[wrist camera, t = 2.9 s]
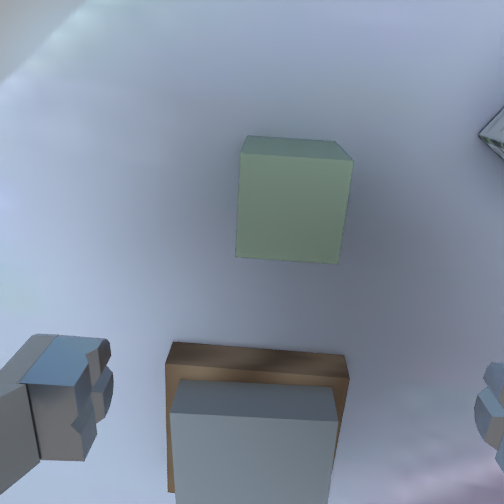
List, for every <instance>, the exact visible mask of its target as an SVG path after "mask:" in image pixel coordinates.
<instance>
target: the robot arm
mask: <svg viewBox="0 0 504 504" xmlns="http://www.w3.org/2000/svg"><path fill="white" fill-rule="evenodd" d="M110 357H111V350H110V343H109V341H108V340H107V339H104V338H91V337H79V336H67V335H53V334H35V335H32V336H31V337H30V338H29V339H28V340H27V341H26V343H25V344H24V345H23V346H22V347H21V348H20V349H19V350H18V351H17V352H16V354H15V355H14V356H13V357H12V358H11V359H10V360H9V361H8V362H7V363H6V365H5V366H4V367H3V368H2V369H1V370H0V495H1V494H2V493H3V492H5V491H6V490H7V489H8V488H9V487H11V486H12V485H13V484H14V483H16V482H17V481H18V480H19V479H20V478H22V477H23V476H24V475H25V474H26V473H28V472H29V471H30V470H31V469H33V468H34V467H35V466H36V465H37V464H39V463H40V460H60V461H85V458H86V456H87V454H88V452H89V450H90V448H91V446H92V444H93V442H94V440H95V437H96V435H97V430H96V423H98V422H99V421H101V420H102V419H103V418H105V416H106V414H107V412H108V409H109V407H110V403H111V399H112V395H113V383H114V382H113V372H112V371H111V370H110V369H109V368H108V367H107V366H106V364H107V363H108V361H109V359H110ZM483 379H484V380H485V382H486V384H487V386H488V387H487V388H486V389H484V390H483V391H482V392H481V393H479V394H478V396H477V400H476V403H475V407H474V410H475V422H476V425H477V428H478V431H479V433H480V434H481V436H482V438H483V439H484V441H485V442H487V443H488V444H489V445H491V446H492V447H494V448H495V449H496V450H497V453H496V457H495V459H496V461H497V463H498V464H499V466H500V468H501V469H502V471H503V473H504V363H494V362H491V364H490V365H489V366H488V367H487V368H486V371H485V374H484V377H483Z"/></svg>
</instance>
